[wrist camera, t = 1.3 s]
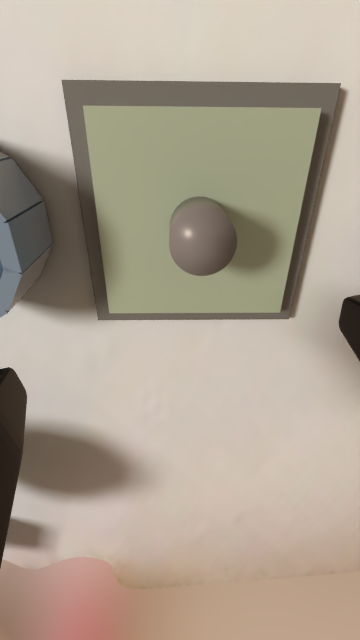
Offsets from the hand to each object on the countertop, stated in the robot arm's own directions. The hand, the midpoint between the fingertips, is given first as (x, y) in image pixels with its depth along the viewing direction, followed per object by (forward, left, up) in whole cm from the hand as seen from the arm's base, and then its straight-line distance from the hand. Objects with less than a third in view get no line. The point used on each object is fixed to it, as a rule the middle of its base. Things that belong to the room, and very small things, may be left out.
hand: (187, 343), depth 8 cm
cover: (-1, 0, -11) cm, 11 cm away
